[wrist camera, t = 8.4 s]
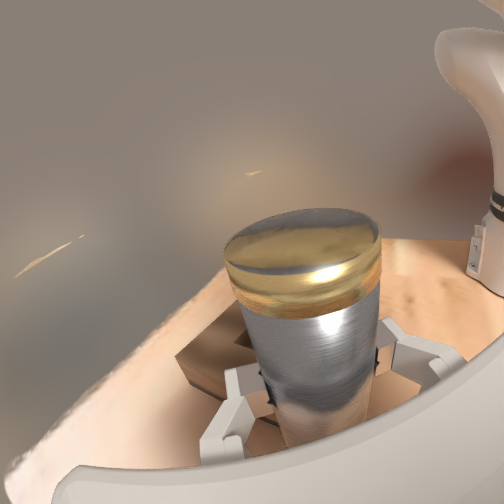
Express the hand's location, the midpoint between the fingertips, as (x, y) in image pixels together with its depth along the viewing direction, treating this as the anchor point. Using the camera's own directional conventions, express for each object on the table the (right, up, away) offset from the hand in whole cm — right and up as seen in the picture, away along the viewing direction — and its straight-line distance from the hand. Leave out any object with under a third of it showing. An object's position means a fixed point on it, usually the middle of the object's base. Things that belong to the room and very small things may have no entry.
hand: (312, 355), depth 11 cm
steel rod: (+2, -8, +2) cm, 8 cm away
